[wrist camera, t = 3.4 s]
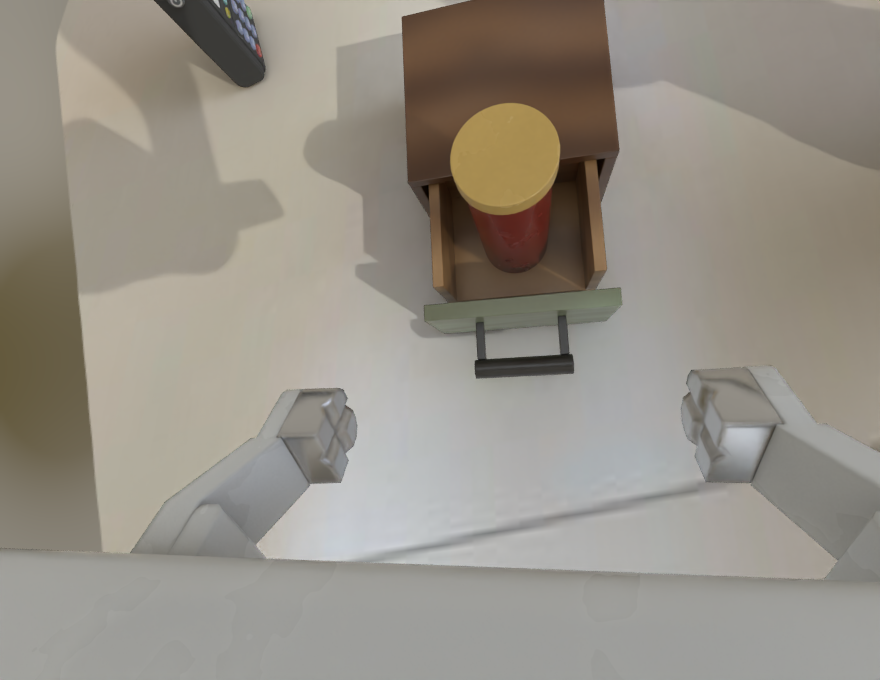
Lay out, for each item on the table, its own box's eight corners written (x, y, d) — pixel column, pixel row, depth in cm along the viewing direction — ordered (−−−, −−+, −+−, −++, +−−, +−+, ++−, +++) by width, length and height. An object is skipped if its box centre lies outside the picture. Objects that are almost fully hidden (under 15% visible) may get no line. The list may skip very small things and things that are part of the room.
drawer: (611, 373, 34) (629, 369, 28) (446, 381, 37) (426, 380, 30) (592, 175, 36) (604, 127, 30) (437, 197, 39) (417, 158, 32)
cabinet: (600, 204, 37) (619, 150, 28) (434, 226, 40) (407, 182, 31) (586, 60, 38) (600, -32, 30) (428, 91, 42) (401, 16, 33)
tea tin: (531, 198, 36) (528, 82, 22) (563, 255, 35) (580, 170, 21) (470, 231, 37) (432, 138, 23) (500, 288, 36) (478, 226, 22)
